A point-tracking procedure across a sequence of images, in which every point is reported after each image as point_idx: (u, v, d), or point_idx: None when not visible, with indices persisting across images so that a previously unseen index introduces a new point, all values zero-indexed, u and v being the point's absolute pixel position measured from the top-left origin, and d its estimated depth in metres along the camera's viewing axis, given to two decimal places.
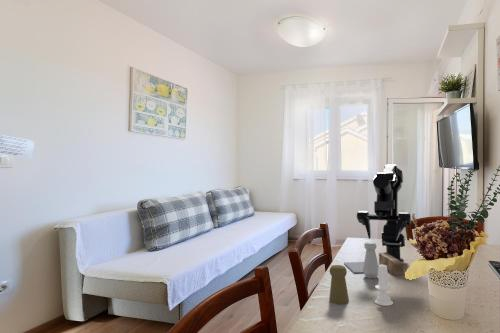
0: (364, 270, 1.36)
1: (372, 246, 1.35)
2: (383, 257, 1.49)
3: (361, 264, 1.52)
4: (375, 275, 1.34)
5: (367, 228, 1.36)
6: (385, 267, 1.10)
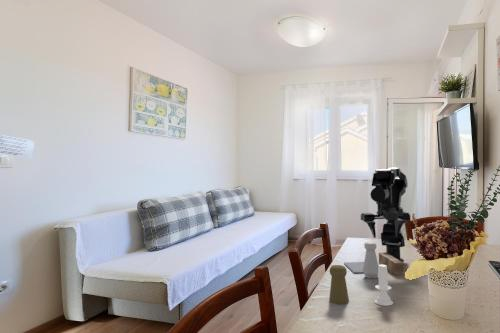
0: (364, 270, 1.36)
1: (372, 246, 1.35)
2: (383, 257, 1.49)
3: (361, 264, 1.52)
4: (375, 275, 1.34)
5: (373, 230, 1.48)
6: (385, 267, 1.10)
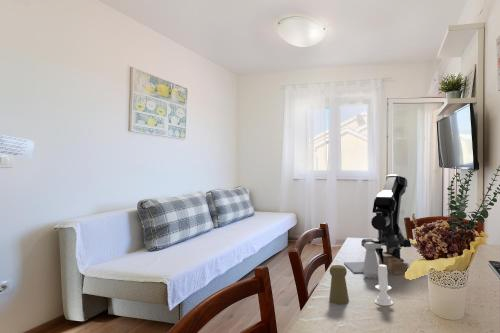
0: (364, 270, 1.36)
1: (372, 246, 1.35)
2: (383, 257, 1.49)
3: (361, 264, 1.52)
4: (375, 275, 1.34)
5: (381, 256, 1.49)
6: (385, 267, 1.10)
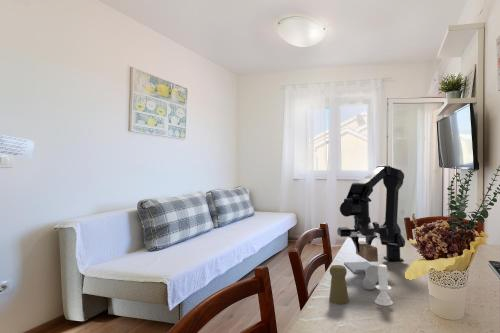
0: None
1: None
2: (359, 245, 1.45)
3: (361, 264, 1.52)
4: None
5: (357, 244, 1.44)
6: (385, 267, 1.10)
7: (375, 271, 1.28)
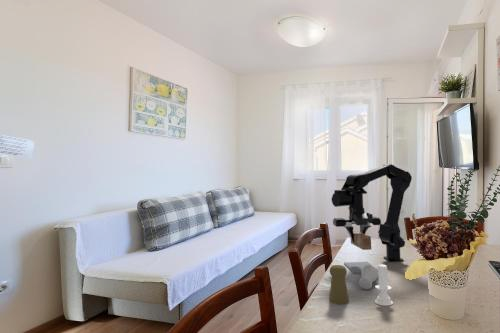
0: None
1: None
2: (353, 234, 1.52)
3: (361, 264, 1.52)
4: None
5: (352, 234, 1.51)
6: (385, 267, 1.10)
7: (367, 270, 1.29)
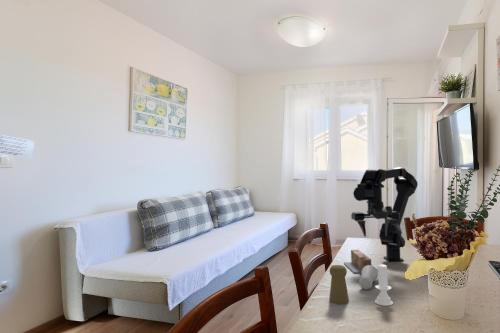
0: None
1: None
2: (354, 254, 1.52)
3: None
4: None
5: (363, 228, 1.51)
6: (385, 267, 1.10)
7: (367, 270, 1.29)
